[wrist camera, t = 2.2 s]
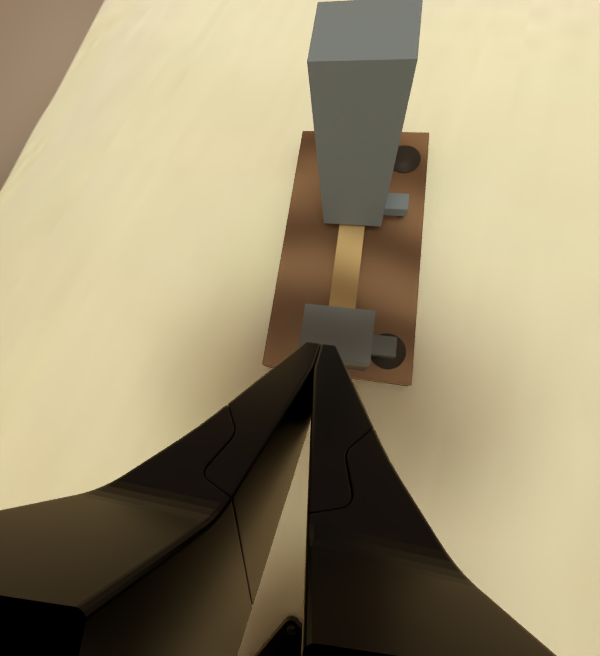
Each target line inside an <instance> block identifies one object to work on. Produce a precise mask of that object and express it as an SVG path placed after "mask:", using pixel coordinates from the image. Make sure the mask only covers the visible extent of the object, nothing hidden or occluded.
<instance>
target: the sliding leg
mask: <svg viewBox="0 0 600 656" xmlns="http://www.w3.org/2000/svg"><path fill="white" fill-rule="evenodd" d="M421 12H422V0H351V1H333V2H318V4H317V10H316V16H315V21H314V27H313V32H312V38H311V43H310V49H309V54H308V60H307V64H308V74H309V84H310V93H311V103H312V113H313V122H314V132H315V142H316V151H317V161H318V171H319V180H320V190H321V200H322V209H323V219H324V223H329V224H346V225H362V226H379V227H381V224H382V219H383V215H389V216H397V217H398V218H402V217H404V216H406V214H407V211H408V203H409V194H401V193H388V192H389V187H390V183H391V178H392V174H393V169H394V164H395V160H396V155H397V151H398V146H399V141H400V137H401V132H402V128H403V123H404V119H405V114H406V109H407V105H408V100H409V96H410V91H411V87H412V82H413V77H414V73H415V68H416V64H417V59H418V48H419V36H420V24H421Z"/></svg>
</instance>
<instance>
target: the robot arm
mask: <svg viewBox="0 0 600 656" xmlns="http://www.w3.org/2000/svg"><path fill="white" fill-rule="evenodd" d="M310 421H311V432H310V456H309V480H308V504H307V528H306V552H305V576H304V600H303V625H302V623H301V622H300V621H299V620H298V619H297V618H296V617H295V616H289V617H287V618H286V619H285V621H284V622H283V623H282V624H281V625H280V626H279V628H278V629H277V630H276V631H275V632H274V633H273V635H272V636H271V637H270V638H269V639H268V640H267V642H266V643H265V644H264V645H263V646H262V647H261V649H260V650H259V651H258V652H257V653H256V654H255V656H556V655H555V654H554V653H553V652H552V651H550V650H549V649H548V648H547V647H546V646H545V645H543V644H542V643H541V642H540V641H539V640H538V639H536V638H535V637H534V636H533V635H532V634H531V633H530V632H528V631H527V630H526V629H525V628H524V627H523V626H521V625H520V624H519V623H518V622H517V621H516V620H514V619H513V618H512V617H511V616H510V615H509V614H507V613H506V612H505V611H504V610H503V609H502V608H501V607H499V606H498V605H497V604H496V603H495V602H494V601H492V600H491V599H490V598H489V597H488V596H487V595H485V594H484V593H483V592H482V591H481V590H480V589H479V588H477V587H476V586H475V585H474V584H473V583H472V582H471V581H470V580H469V579H468V578H467V577H466V576H465V575H464V574H463V572H462V571H461V570H460V569H459V568H458V567H457V565H456V564H455V563H454V562H453V560H452V559H451V558H450V556H449V555H448V554H447V552H446V551H445V549H444V548H443V546H442V544H441V543H440V541H439V540H438V538H437V537H436V535H435V533H434V532H433V530H432V529H431V527H430V525H429V524H428V522H427V521H426V519H425V517H424V516H423V514H422V513H421V511H420V509H419V508H418V506H417V505H416V503H415V502H414V500H413V498H412V497H411V495H410V494H409V492H408V490H407V489H406V487H405V486H404V484H403V482H402V481H401V479H400V477H399V476H398V474H397V472H396V470H395V469H394V467H393V465H392V464H391V462H390V460H389V458H388V456H387V454H386V452H385V450H384V448H383V446H382V444H381V442H380V440H379V438H378V436H377V434H376V431H375V430H374V427H373V425H372V423H371V421H370V419H369V416H368V414H367V412H366V410H365V408H364V406H363V403H362V401H361V399H360V397H359V395H358V393H357V390H356V388H355V386H354V384H353V382H352V380H351V377H350V375H349V373H348V371H347V369H346V366H345V364H344V362H343V360H342V358H341V356H340V353H339V351H338V349H337V347H336V346H335V345H328V344H322V345H320V344H319V343H312V342H306V343H304V344H303V345H302V346H301V347H299V348H298V349H297V350H295V351H294V352H293V353H292V354H290V355H289V356H288V357H287V358H285V359H284V360H283V361H282V362H280V363H279V364H278V365H277V366H275V367H274V368H273V369H271V370H270V371H269V372H268V373H266V374H265V375H264V376H263V377H261V378H260V379H259V380H258V381H256V382H255V383H254V384H253V385H251V386H250V387H249V388H248V389H246V390H245V391H244V392H242V393H241V394H240V395H239V396H237V397H236V398H235V399H234V400H232V401H231V402H230V403H229V404H228V406H227V405H226V406H225V407H223V408H222V409H221V410H220V411H218V412H217V413H216V414H214V415H213V416H212V417H210V418H209V419H208V420H206V421H205V422H204V423H202V424H201V425H200V426H198V427H197V428H195V429H194V430H192V431H191V432H190V433H188V434H187V435H185V436H184V437H182V438H181V439H179V440H178V441H176V442H175V443H173V444H171V445H170V446H168V447H167V448H165V449H164V450H162V451H161V452H159V453H157V454H156V455H154V456H153V457H151V458H150V459H148V460H147V461H145V462H143V463H142V464H140V465H139V466H137V467H136V468H134V469H133V470H131V471H130V472H128V473H126V474H125V475H123V476H121V477H120V478H118V479H116V480H115V481H113V482H111V483H109V484H107V485H105V486H102V487H100V488H97V489H95V490H92V491H89V492H86V493H82V494H78V495H73V496H68V497H63V498H59V499H54V500H49V501H44V502H39V503H34V504H29V505H24V506H19V507H15V508H10V509H5V510H0V656H237V654H238V650H239V647H240V644H241V641H242V638H243V635H244V631H245V628H246V625H247V622H248V619H249V616H250V612H251V609H252V604H253V603H254V599H255V596H256V593H257V590H258V587H259V583H260V580H261V577H262V574H263V571H264V568H265V564H266V561H267V558H268V555H269V552H270V549H271V545H272V542H273V539H274V536H275V533H276V529H277V526H278V523H279V520H280V517H281V514H282V510H283V507H284V504H285V501H286V498H287V495H288V491H289V488H290V485H291V482H292V479H293V476H294V472H295V469H296V466H297V463H298V460H299V456H300V453H301V450H302V447H303V444H304V441H305V437H306V434H307V431H308V428H309V424H310ZM290 625H292V626H294V627H295V630H294V631H291V630H290V629H289V627H288V626H290Z"/></svg>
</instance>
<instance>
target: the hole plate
mask: <svg viewBox="0 0 600 656" xmlns="http://www.w3.org/2000/svg"><path fill="white" fill-rule="evenodd" d="M428 143H429V133H414V132H401V137H400V141H399V146H398V151H397V155H396V160H395V164H394V169H393V174H392V178H391V183H390V187H389V192H388V193H401V194H409V203H408V211H407V214H406V216H404V217H402V218H398V217H397V216H389V215H383V219H382V224H381V227H379V226H362V225H346V224H329V223H324V219H323V209H322V200H321V190H320V180H319V171H318V161H317V151H316V142H315V132H314V131H303V133H302V139H301V145H300V150H299V156H298V162H297V168H296V173H295V179H294V185H293V191H292V197H291V202H290V208H289V214H288V220H287V225H286V231H285V237H284V243H283V248H282V254H281V260H280V266H279V272H278V277H277V283H276V289H275V295H274V300H273V306H272V312H271V318H270V323H269V329H268V335H267V341H266V347H265V352H264V358H263V364H262V365H264V366H267V367H275V366H277V365H278V364H279V363H280V362H282V361H283V360H284V359H285V358H287V357H288V356H289V355H290V354H292V353H293V352H294V351H295V350H297V349H298V348H299V347H301V346H302V345H303V344H304V343H306V342H312V343H319V344H320V345H322V344H328V345H335V346H336V347H337V349H338V351H339V353H340V356H341V358H342V360H343V362H344V364H345V366H346V369H347V371H348V373H349V375H350V377H351V378H354V379H361V380H368V381H375V382H383V383H390V384H397V385H404V386H410V385H412V370H413V356H414V342H415V328H416V314H417V299H418V285H419V271H420V257H421V243H422V228H423V214H424V200H425V186H426V172H427V157H428Z"/></svg>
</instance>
